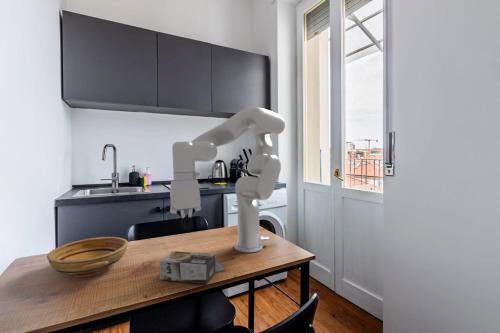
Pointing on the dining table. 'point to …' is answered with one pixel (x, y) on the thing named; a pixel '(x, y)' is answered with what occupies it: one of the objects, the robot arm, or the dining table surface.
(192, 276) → the coffee box
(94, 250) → the brown oval basket
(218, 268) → the grey mat
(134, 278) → the dining table surface
